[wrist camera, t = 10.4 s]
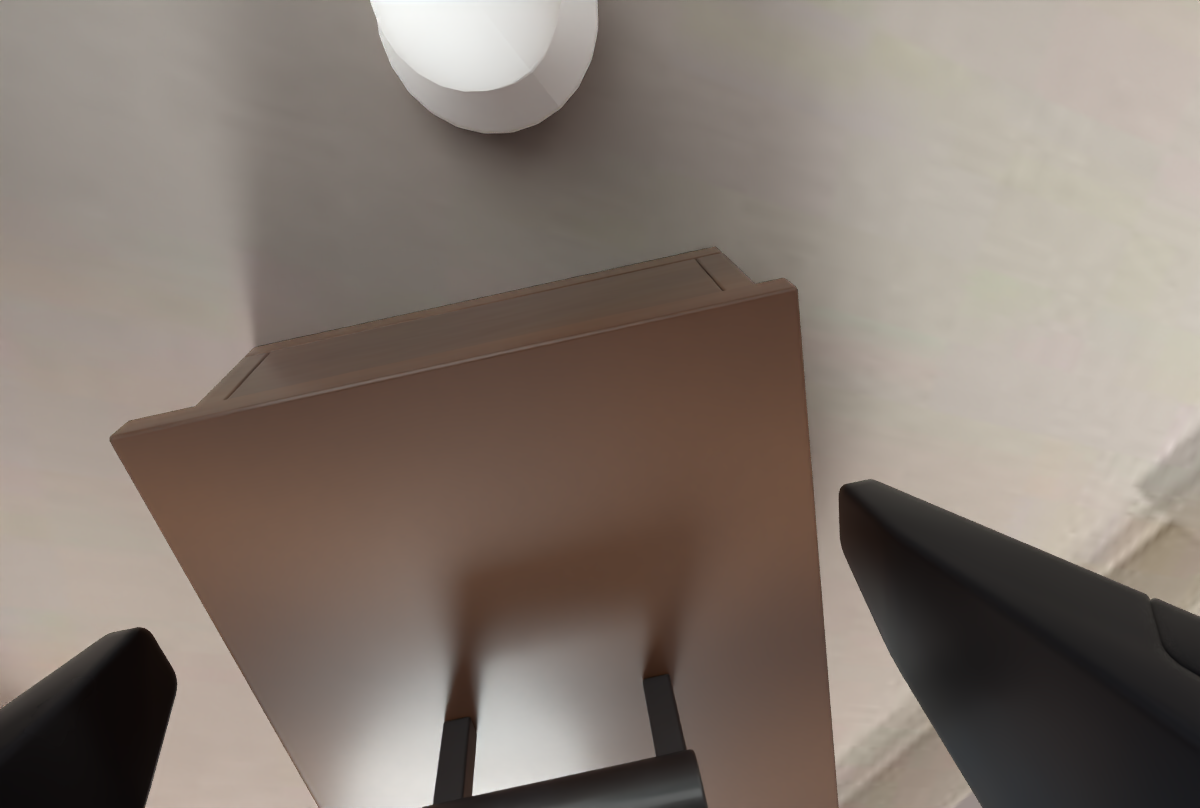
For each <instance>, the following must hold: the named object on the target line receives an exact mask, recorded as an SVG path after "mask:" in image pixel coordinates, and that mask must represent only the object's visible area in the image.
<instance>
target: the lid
mask: <svg viewBox="0 0 1200 808" xmlns="http://www.w3.org/2000/svg"><path fill="white" fill-rule="evenodd" d="M109 439H110V442H111V444H112V446H113V448H114V449H115V451H116V453H117V455H118V456H119V458H120V460H121V462H122V463H123V465H124V467H125V469H126V470H127V472H128V474H129V476H130V477H131V479H132V481H133V483H134V484H135V486H136V488H137V490H138V491H139V493H140V495H141V497H142V499H143V500H144V502H145V504H146V506H147V507H148V509H149V511H150V513H151V514H152V516H153V518H154V520H155V521H156V523H157V525H158V527H159V528H160V530H161V532H162V534H163V535H164V537H165V539H166V541H167V542H168V544H169V546H170V548H171V549H172V551H173V553H174V555H175V556H176V558H177V560H178V562H179V563H180V565H181V567H182V569H183V570H184V572H185V574H186V576H187V577H188V579H189V581H190V583H191V584H192V586H193V588H194V590H195V591H196V593H197V595H198V597H199V599H200V600H201V602H202V604H203V606H204V607H205V609H206V611H207V613H208V614H209V616H210V618H211V620H212V621H213V623H214V625H215V627H216V628H217V630H218V632H219V634H220V635H221V637H222V639H223V641H224V642H225V644H226V646H227V648H228V649H229V651H230V653H231V655H232V656H233V658H234V660H235V662H236V663H237V665H238V667H239V669H240V670H241V672H242V674H243V676H244V677H245V679H246V681H247V683H248V684H249V686H250V688H251V690H252V691H253V693H254V695H255V697H256V698H257V700H258V702H259V704H260V706H261V707H262V709H263V711H264V713H265V714H266V716H267V718H268V720H269V721H270V723H271V725H272V727H273V728H274V730H275V732H276V734H277V735H278V737H279V739H280V741H281V742H282V744H283V746H284V748H285V749H286V751H287V753H288V755H289V756H290V758H291V760H292V762H293V763H294V765H295V767H296V769H297V770H298V772H299V774H300V776H301V777H302V779H303V781H304V783H305V784H306V786H307V788H308V790H309V791H310V793H311V795H312V797H313V798H314V800H315V802H316V804H317V806H318V807H319V808H839V807H838V794H837V782H836V769H835V756H834V744H833V731H832V718H831V705H830V693H829V680H828V667H827V655H826V642H825V629H824V617H823V604H822V591H821V579H820V566H819V553H818V540H817V528H816V515H815V502H814V490H813V477H812V464H811V452H810V439H809V426H808V414H807V401H806V388H805V375H804V363H803V350H802V337H801V325H800V312H799V299H798V289H797V288H796V286H794V285H793V284H792V283H791V282H789V281H788V280H787V279H785V278H780V279H776V280H771V281H766V282H762V283H757V284H753V285H748V286H744V287H739V288H734V289H730V290H725V291H721V292H716V293H711V294H707V295H702V296H698V297H693V298H689V299H684V300H679V301H675V302H670V303H666V304H661V305H657V306H652V307H647V308H643V309H638V310H634V311H629V312H625V313H620V314H615V315H611V316H606V317H602V318H597V319H592V320H588V321H583V322H579V323H574V324H570V325H565V326H560V327H556V328H551V329H547V330H542V331H538V332H533V333H528V334H524V335H519V336H515V337H510V338H505V339H501V340H496V341H492V342H487V343H483V344H478V345H473V346H469V347H464V348H460V349H455V350H451V351H446V352H441V353H437V354H432V355H428V356H423V357H419V358H414V359H409V360H405V361H400V362H396V363H391V364H386V365H382V366H377V367H373V368H368V369H364V370H359V371H354V372H350V373H345V374H341V375H336V376H332V377H327V378H322V379H318V380H313V381H309V382H304V383H299V384H295V385H290V386H286V387H281V388H277V389H272V390H267V391H263V392H258V393H254V394H249V395H245V396H240V397H235V398H231V399H226V400H222V401H217V402H213V403H208V404H203V405H199V406H194V407H190V408H185V409H180V410H176V411H171V412H167V413H162V414H158V415H153V416H148V417H144V418H139V419H135V420H130V421H128V422H127V423H125V424H124V425H123V426H122V427H121V428H120V429H118V430H117V431H116V432H115V433H114V434H113V435H111V436H110V438H109Z"/></svg>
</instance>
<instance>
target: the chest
mask: <svg viewBox="0 0 1200 808" xmlns="http://www.w3.org/2000/svg"><path fill="white" fill-rule="evenodd" d="M753 284H755V283H754V282H753V281H752V280H751V279H750V278H749V277H748V276H747V275H745V274H744V273H743V272H742V271H741V270H740V269H739V268H738V267H737V266H736V265H735V264H734V263H733V262H732V261H731V260H730V259H729V258H728V257H727V256H725V255H724V254H723V253H722V252H721V251H720V250H719V249H718V248H717V247H711V248H706V249H701V250H697V251H692V252H688V253H683V254H679V255H674V256H669V257H665V258H660V259H656V260H651V261H647V262H642V263H637V264H633V265H628V266H624V267H619V268H615V269H610V270H605V271H601V272H596V273H592V274H587V275H583V276H578V277H573V278H569V279H564V280H560V281H555V282H551V283H546V284H541V285H537V286H532V287H528V288H523V289H519V290H514V291H509V292H505V293H500V294H496V295H491V296H487V297H482V298H477V299H473V300H468V301H464V302H459V303H455V304H450V305H445V306H441V307H436V308H432V309H427V310H423V311H418V312H413V313H409V314H404V315H400V316H395V317H391V318H386V319H381V320H377V321H372V322H368V323H363V324H359V325H354V326H349V327H345V328H340V329H336V330H331V331H327V332H322V333H317V334H313V335H308V336H304V337H299V338H295V339H290V340H285V341H281V342H276V343H272V344H267V345H263V346H258V347H254V348H253V349H252V350H251V351H250V352H249V353H248V354H247V355H246V356H245V358H243V359H242V360H241V361H240V362H239V363H238V364H237V365H236V366H235V367H234V368H233V369H232V370H231V371H230V372H229V373H228V374H227V375H226V376H225V377H224V378H223V379H222V380H221V381H220V382H219V383H218V384H217V385H216V386H215V387H214V388H213V389H212V390H211V391H210V392H209V393H208V394H207V395H206V396H205V397H204V398H203V399H202V400H201V401H200V402H199V403H198V404H197V405H196V406H199V405H203V404H208V403H213V402H217V401H222V400H226V399H231V398H235V397H240V396H245V395H249V394H254V393H258V392H263V391H267V390H272V389H277V388H281V387H286V386H290V385H295V384H299V383H304V382H309V381H313V380H318V379H322V378H327V377H332V376H336V375H341V374H345V373H350V372H354V371H359V370H364V369H368V368H373V367H377V366H382V365H386V364H391V363H396V362H400V361H405V360H409V359H414V358H419V357H423V356H428V355H432V354H437V353H441V352H446V351H451V350H455V349H460V348H464V347H469V346H473V345H478V344H483V343H487V342H492V341H496V340H501V339H505V338H510V337H515V336H519V335H524V334H528V333H533V332H538V331H542V330H547V329H551V328H556V327H560V326H565V325H570V324H574V323H579V322H583V321H588V320H592V319H597V318H602V317H606V316H611V315H615V314H620V313H625V312H629V311H634V310H638V309H643V308H647V307H652V306H657V305H661V304H666V303H670V302H675V301H679V300H684V299H689V298H693V297H698V296H702V295H707V294H711V293H716V292H721V291H725V290H730V289H734V288H739V287H744V286H748V285H753Z"/></svg>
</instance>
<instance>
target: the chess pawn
mask: <svg viewBox="0 0 1200 808" xmlns="http://www.w3.org/2000/svg"><path fill="white" fill-rule="evenodd" d="M370 2H371V5H372V8H373V11H374V13H375V16H376V18H377V23H378V30H379V36H380V39H381V41H382V44H383V46H384V49H385V51H386V54H387V57H388V59H389V62H390V64H391V67H392V68H393V70H394V71H395V73H396V74H397V75H398V77H399V78H400V80H401V81H402V83H403V84H404V86H405V87H406V89H407V90H408V92H409V93H410V94H411V95H412V96H413V97H414V98H416V99H417V100H418V101H419V102H420V103H421V104H422V105H423V106H424V107H425V108H427V109H428V110H429V111H430V112H431V113H432V114H434V115H436V116H438V117H440V118H441V119H443V120H445V121H447V122H449V123H451V124H452V125H454V126H456V127H459V128H463V129H467V130H471V131H475V132H480V133H484V134H492V133H513V132H516V131H519V130H522V129H525V128H528V127H531V126H534V125H537V124H539V123H540V122H542V121H543V120H545V119H546V118H548V117H549V116H551V115H552V114H554V113H555V112H556V111H558V110H559V109H561V108H562V106H563V105H564V104H565V103H566V102H567V100H568V99H569V98H570V97H571V96H572V95H573V93H574V92H575V91H576V90H577V89H578V88H579V86H580V84H581V82H582V80H583V77H584V75H585V73H586V71H587V69H588V67H589V65H590V63H591V61H592V57H593V52H594V47H595V42H596V38H597V33H598V3H597V0H370Z"/></svg>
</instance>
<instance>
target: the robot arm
mask: <svg viewBox="0 0 1200 808" xmlns="http://www.w3.org/2000/svg"><path fill="white" fill-rule="evenodd" d="M839 525H840V541H841V546H842V550H843V553H844V555H845V558H846V560H847V562H848V564H849V566H850V568H851V571H852V573H853V575H854V577H855V579H856V582H857V584H858V586H859V588H860V590H861V592H862V595H863V597H864V599H865V601H866V603H867V606H868V608H869V610H870V612H871V614H872V616H873V619H874V621H875V623H876V625H877V627H878V629H879V632H880V634H881V636H882V638H883V640H884V642H885V644H886V646H887V649H888V651H889V653H890V655H891V657H892V658H893V660H894V662H895V664H896V665H897V667H898V669H899V671H900V672H901V674H902V676H903V677H904V679H905V681H906V682H907V684H908V686H909V687H910V689H911V691H912V692H913V694H914V696H915V697H916V699H917V701H918V702H919V704H920V705H921V707H922V709H923V710H924V712H925V714H926V715H927V717H928V719H929V720H930V722H931V724H932V725H933V727H934V729H935V730H936V732H937V733H938V735H939V737H940V738H941V740H942V742H943V743H944V745H945V747H946V748H947V750H948V752H949V753H950V755H951V757H952V758H953V760H954V762H955V763H956V765H957V766H958V768H959V770H960V771H961V773H962V775H963V776H964V778H965V780H966V781H967V783H968V785H969V786H970V788H971V790H972V791H973V793H974V794H975V796H976V798H977V799H978V801H979V803H980V804H981V806H982V808H1200V616H1197V615H1195V614H1192V613H1190V612H1187V611H1185V610H1183V609H1180V608H1178V607H1176V606H1173V605H1171V604H1168V603H1166V602H1164V601H1161V600H1159V599H1156V598H1153V599H1151V600H1149V597H1148V596H1147V595H1146V594H1144V593H1142V592H1139V591H1137V590H1135V589H1132V588H1130V587H1128V586H1125V585H1123V584H1121V583H1118V582H1116V581H1113V580H1111V579H1109V578H1106V577H1104V576H1102V575H1099V574H1097V573H1094V572H1092V571H1090V570H1087V569H1085V568H1083V567H1080V566H1078V565H1075V564H1073V563H1071V562H1068V561H1066V560H1064V559H1061V558H1059V557H1056V556H1054V555H1052V554H1049V553H1047V552H1045V551H1042V550H1040V549H1037V548H1035V547H1033V546H1030V545H1028V544H1026V543H1023V542H1021V541H1018V540H1016V539H1014V538H1011V537H1009V536H1007V535H1004V534H1002V533H999V532H997V531H995V530H992V529H990V528H988V527H985V526H983V525H980V524H978V523H976V522H973V521H971V520H969V519H966V518H964V517H961V516H959V515H957V514H954V513H952V512H950V511H947V510H945V509H942V508H940V507H938V506H935V505H933V504H931V503H928V502H926V501H923V500H921V499H919V498H916V497H914V496H912V495H909V494H907V493H904V492H902V491H900V490H897V489H895V488H893V487H890V486H888V485H885V484H883V483H881V482H878V481H876V480H871V479H868V480H863V481H858V482H854V483H849V484H845V485H843V486H842V487H841V488H840V491H839ZM176 691H177V678H176V675H175V672H174V670H173V668H172V666H171V665H170V663H169V661H168V660H167V658H166V656H165V655H164V653H163V651H162V650H161V648H160V646H159V645H158V643H157V641H156V640H155V638H154V636H153V635H152V634H151V632H150V631H148V630H147V629H145V628H141V627H137V628H132V629H127V630H122V631H117V632H112V633H110V634H107V635H105V636H104V637H102V638H101V639H99V640H98V641H97V642H95V643H94V644H92V645H91V646H89V647H88V648H87V649H85V650H84V651H82V652H81V653H80V654H78V655H77V656H75V657H74V658H72V659H71V660H70V661H68V662H67V663H65V664H64V665H62V666H61V667H60V668H58V669H57V670H55V671H54V672H53V673H51V674H50V675H48V676H47V677H45V678H44V679H43V680H41V681H40V682H38V683H37V684H36V685H34V686H33V687H31V688H30V689H28V690H27V691H26V692H24V693H23V694H21V695H20V696H18V697H17V698H16V699H14V700H13V701H11V702H10V703H9V704H7V705H6V706H4V707H3V708H1V709H0V808H145V805H146V802H147V798H148V795H149V792H150V788H151V785H152V781H153V777H154V773H155V770H156V766H157V762H158V759H159V755H160V751H161V748H162V744H163V740H164V736H165V733H166V729H167V725H168V722H169V718H170V714H171V710H172V707H173V703H174V699H175V696H176Z"/></svg>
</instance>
